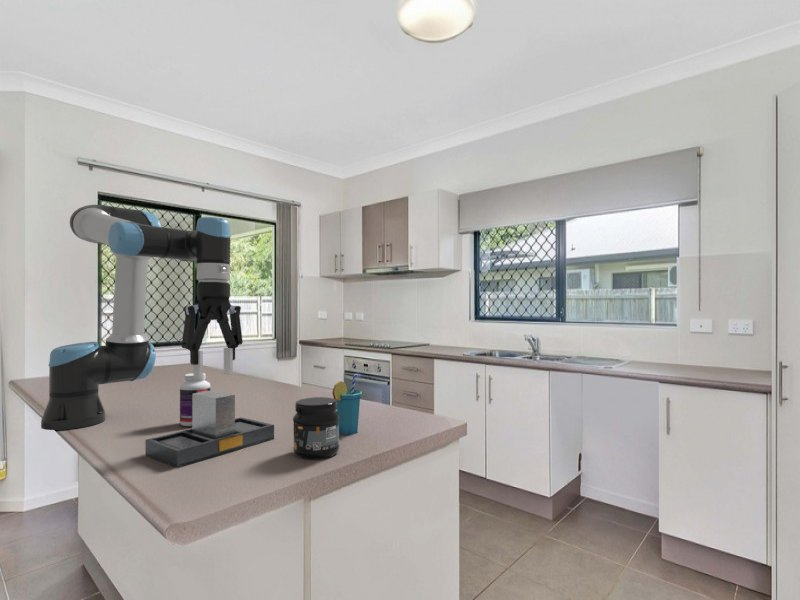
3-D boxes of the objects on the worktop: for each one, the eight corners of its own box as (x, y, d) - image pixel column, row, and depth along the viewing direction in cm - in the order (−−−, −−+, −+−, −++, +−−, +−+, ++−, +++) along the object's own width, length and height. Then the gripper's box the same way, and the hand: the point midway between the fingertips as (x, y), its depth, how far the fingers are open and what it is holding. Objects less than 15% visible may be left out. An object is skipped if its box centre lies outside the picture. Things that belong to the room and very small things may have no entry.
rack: (145, 455, 101) (145, 439, 101) (241, 430, 121) (241, 417, 121) (177, 468, 92) (178, 451, 93) (274, 439, 113) (274, 425, 113)
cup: (348, 423, 128) (347, 371, 128) (372, 425, 125) (372, 372, 126) (324, 436, 115) (324, 378, 115) (351, 439, 112) (351, 380, 112)
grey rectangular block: (192, 442, 108) (192, 393, 108) (211, 437, 112) (211, 390, 112) (215, 450, 102) (215, 398, 102) (234, 444, 106) (234, 394, 106)
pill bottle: (198, 428, 123) (198, 376, 124) (173, 427, 125) (173, 376, 125) (216, 421, 131) (216, 372, 132) (192, 419, 133) (192, 371, 133)
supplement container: (299, 446, 107) (299, 396, 108) (342, 446, 107) (342, 396, 107) (287, 461, 97) (287, 406, 97) (335, 461, 96) (334, 406, 97)
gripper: (181, 279, 97) (180, 383, 97) (258, 283, 114) (258, 372, 113) (163, 280, 102) (163, 380, 101) (240, 284, 118) (240, 370, 118)
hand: (213, 376), depth 107 cm, fingers open, 7 cm apart
